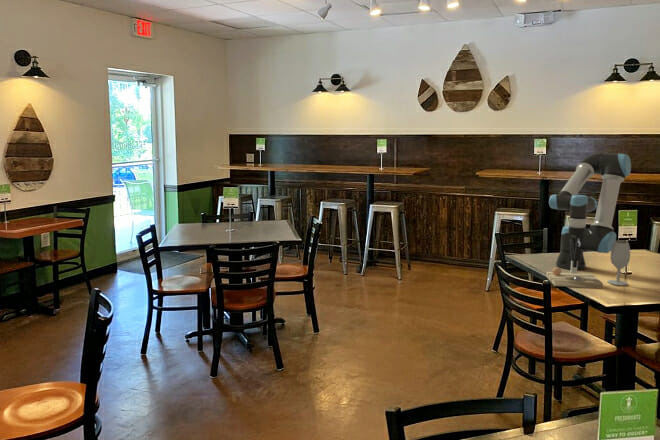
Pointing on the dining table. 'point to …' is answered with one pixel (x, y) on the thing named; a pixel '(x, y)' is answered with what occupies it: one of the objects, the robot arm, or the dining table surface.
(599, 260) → the dining table surface
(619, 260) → the wineglass
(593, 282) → the board
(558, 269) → the terracotta ball
